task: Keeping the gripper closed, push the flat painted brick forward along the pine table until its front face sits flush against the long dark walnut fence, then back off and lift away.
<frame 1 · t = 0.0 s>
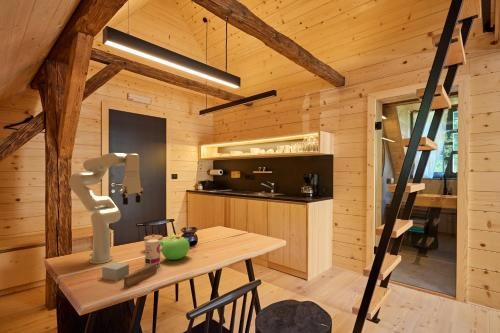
hand: (131, 203, 158), 37 cm above the table, tool pointing down, fingers open, 9 cm apart
green round body: (175, 258, 170), on the table
supplement can: (152, 266, 157), on the table
fence: (141, 279, 138), on the table
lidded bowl: (153, 250, 188), on the table
brick: (115, 276, 142), on the table
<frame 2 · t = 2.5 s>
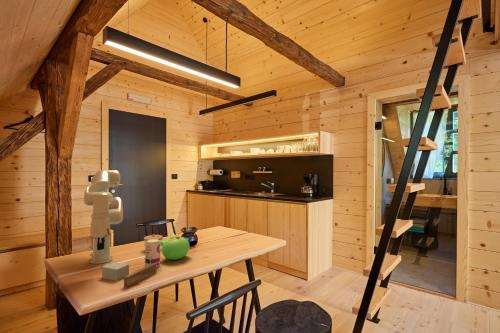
hand: (100, 249, 145), 13 cm above the table, tool pointing down, fingers closed
nothing on the table moved.
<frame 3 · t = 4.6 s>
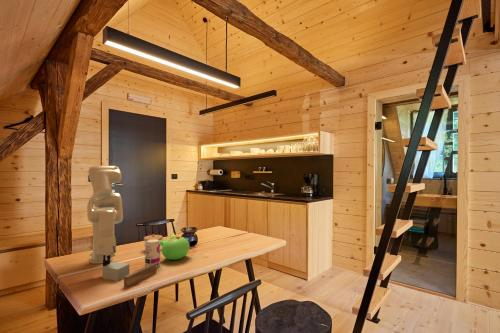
hand: (106, 266, 144), 4 cm above the table, tool pointing down, fingers closed
brick: (116, 276, 142), on the table, touching gripper
everything else where it was.
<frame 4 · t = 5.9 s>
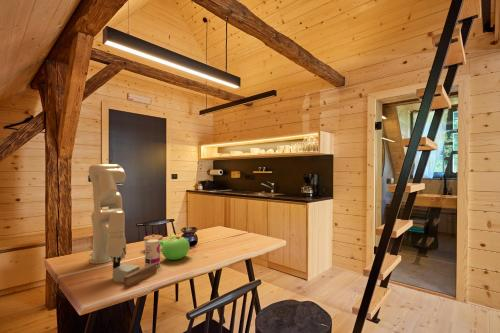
hand: (116, 268, 142), 4 cm above the table, tool pointing down, fingers closed
brick: (126, 279, 139), on the table, touching gripper
everything else where it was.
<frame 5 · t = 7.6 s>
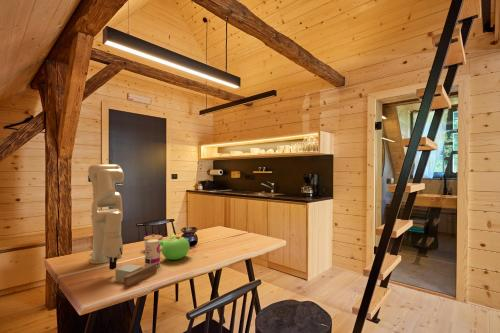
hand: (112, 268, 143), 4 cm above the table, tool pointing down, fingers closed
brick: (129, 279, 139), on the table
everything else where it was.
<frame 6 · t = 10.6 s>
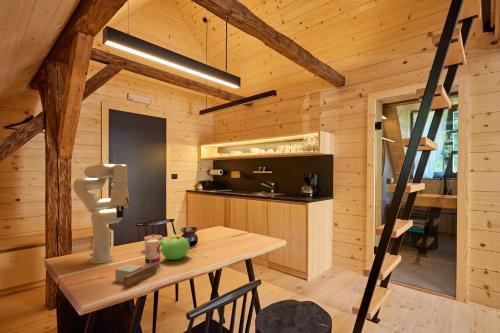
hand: (119, 217, 154), 29 cm above the table, tool pointing down, fingers closed
brick: (129, 279, 139), on the table, touching fence
everything else where it was.
at the end: brick 0.8 cm from the target spot on the table beside the fence, on the table; brick tilted 0° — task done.
